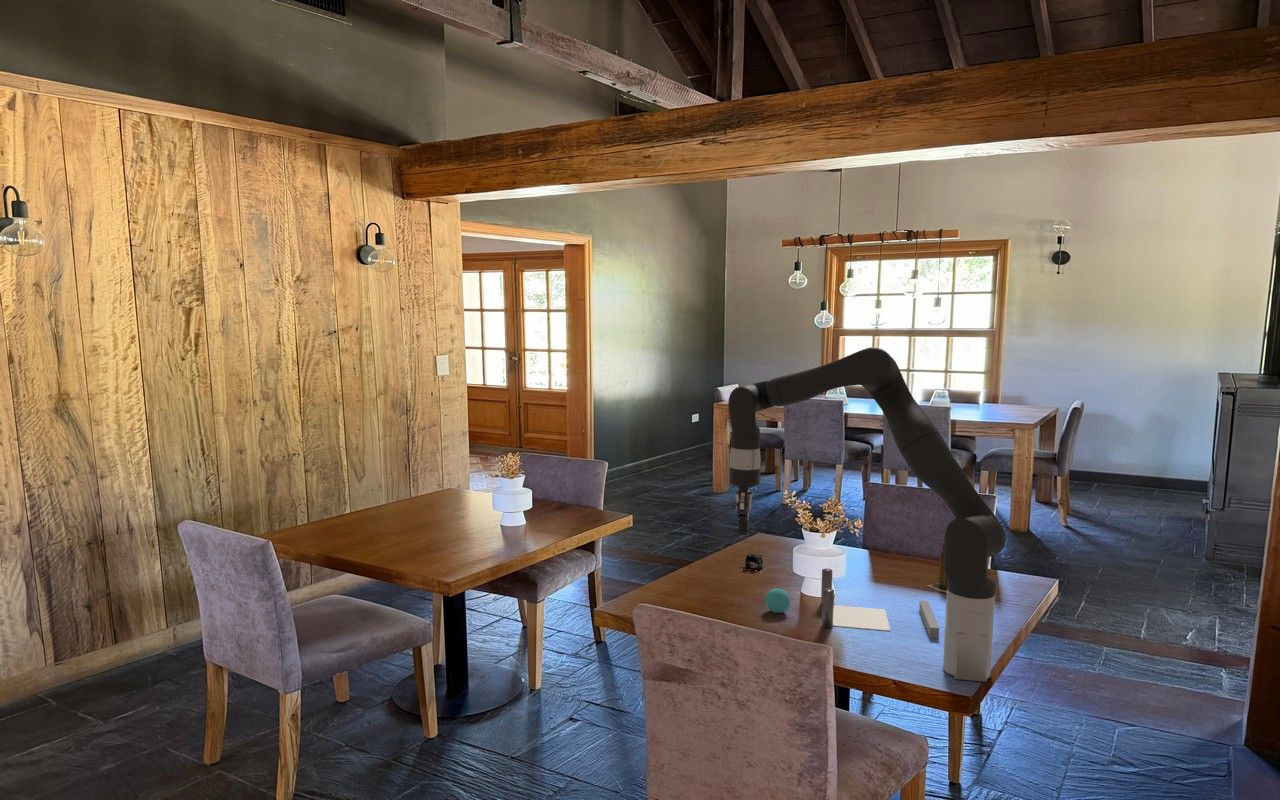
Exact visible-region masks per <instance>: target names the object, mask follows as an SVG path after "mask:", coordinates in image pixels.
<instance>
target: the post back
mask: <svg viewBox="0 0 1280 800" xmlns="http://www.w3.org/2000/svg"><path fill="white" fill-rule="evenodd" d="M825 588H829V589H833V569H831V568H822V569H821V589H820V590H821V591H820V592H821V593H820V605H821V606H822V603H823V589H825Z"/></svg>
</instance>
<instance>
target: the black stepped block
mask: <svg viewBox="0 0 1280 800" xmlns="http://www.w3.org/2000/svg"><path fill="white" fill-rule="evenodd" d="M745 556H746V557H745V560H744V562H745V563H744V564H745V566H742V565H741V566H742V567H740V566H738V567H739V568H738V569H741V568H743V569H742V570H746V569H751V570H757V571H760V570H762V569H763V563H764V561H763V560H764V559H763V554H758V553H753V552H750V553H749V554H746V555H745ZM744 568H745V569H744ZM751 570H750V571H751Z"/></svg>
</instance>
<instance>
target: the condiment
mask: <svg viewBox="0 0 1280 800" xmlns="http://www.w3.org/2000/svg"><path fill="white" fill-rule="evenodd" d="M938 576H939V577H938V582H935V583H933V584H928V585H927V587H929V588H930V589H934V590H935V591H936V590H937V591H939V592H943V593H945V594H947V580H946V577H945V574H944V543H943V544H942V549H941V553H940V556H939V574H938Z"/></svg>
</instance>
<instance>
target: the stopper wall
mask: <svg viewBox="0 0 1280 800" xmlns="http://www.w3.org/2000/svg"><path fill="white" fill-rule="evenodd" d="M918 608H919V614H920V616H921V619H922V620H923V621H922V622H923V624H924V627H925V630H926V632H927V635H928V637H929V639H937V640H938V639H940V638H939V637H940V626H939V624H938V622H937V620H936V617H935V615H934V612H933V609H932V607H931V605H930V602H929V601H928V600H919V607H918Z"/></svg>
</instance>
